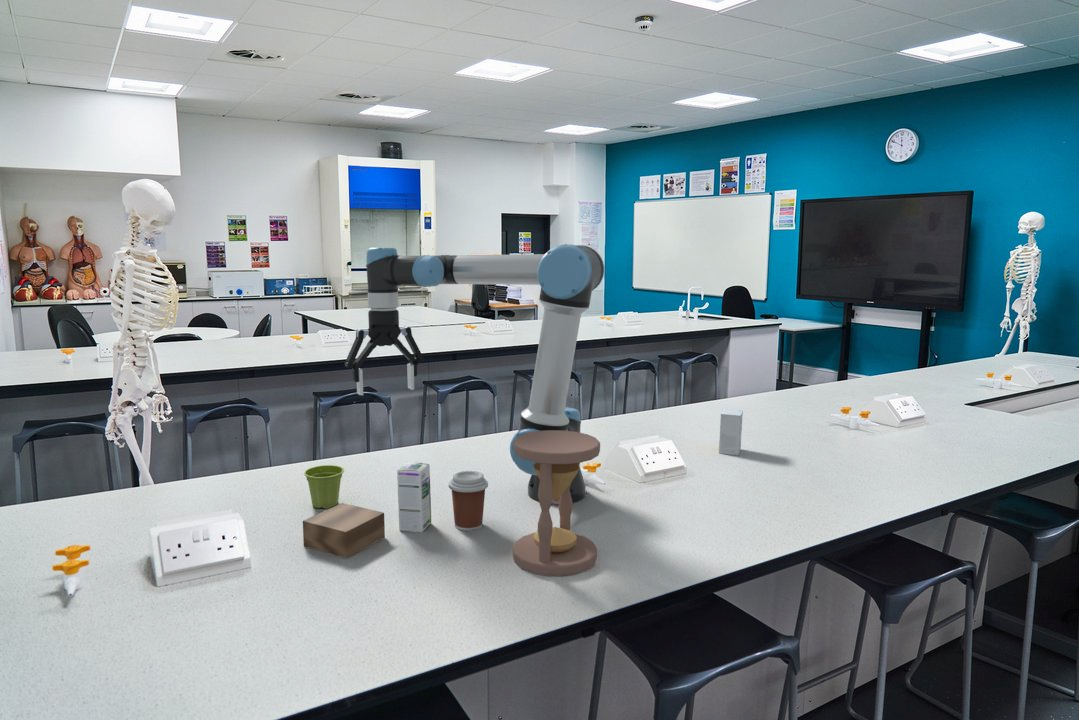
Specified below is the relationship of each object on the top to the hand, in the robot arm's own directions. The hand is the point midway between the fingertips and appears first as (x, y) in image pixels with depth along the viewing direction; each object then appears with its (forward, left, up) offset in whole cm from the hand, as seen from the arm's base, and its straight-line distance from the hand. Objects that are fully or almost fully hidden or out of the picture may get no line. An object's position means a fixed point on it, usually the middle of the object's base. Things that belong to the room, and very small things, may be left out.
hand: (386, 391), depth 179 cm
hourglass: (-57, +14, -27) cm, 64 cm away
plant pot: (+6, +16, -27) cm, 32 cm away
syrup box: (-22, +16, -27) cm, 38 cm away
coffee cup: (-32, +9, -27) cm, 42 cm away
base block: (-14, +30, -27) cm, 42 cm away
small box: (-70, -83, -27) cm, 112 cm away
